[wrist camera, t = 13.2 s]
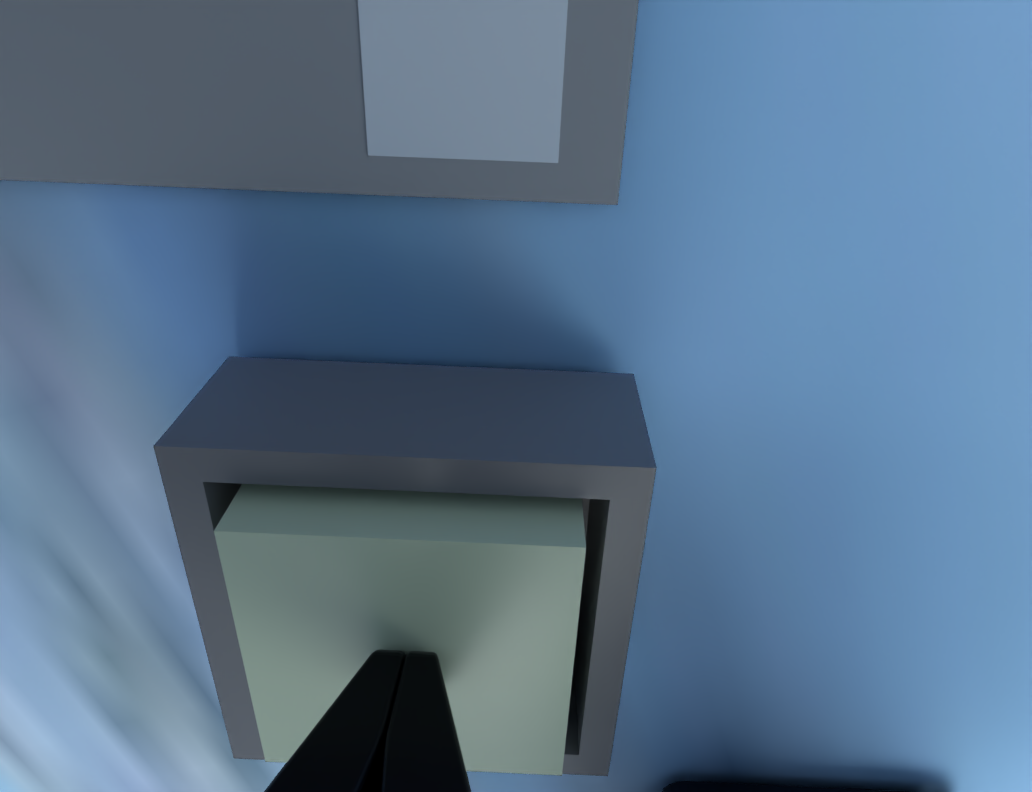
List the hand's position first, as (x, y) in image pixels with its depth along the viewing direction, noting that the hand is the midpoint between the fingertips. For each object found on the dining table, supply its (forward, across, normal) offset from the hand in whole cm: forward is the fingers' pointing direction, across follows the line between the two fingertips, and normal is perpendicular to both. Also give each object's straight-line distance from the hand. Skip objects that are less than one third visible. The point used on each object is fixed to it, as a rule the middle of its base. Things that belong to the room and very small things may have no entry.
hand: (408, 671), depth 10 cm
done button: (+2, 0, 0) cm, 2 cm away
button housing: (+3, 0, 0) cm, 3 cm away
